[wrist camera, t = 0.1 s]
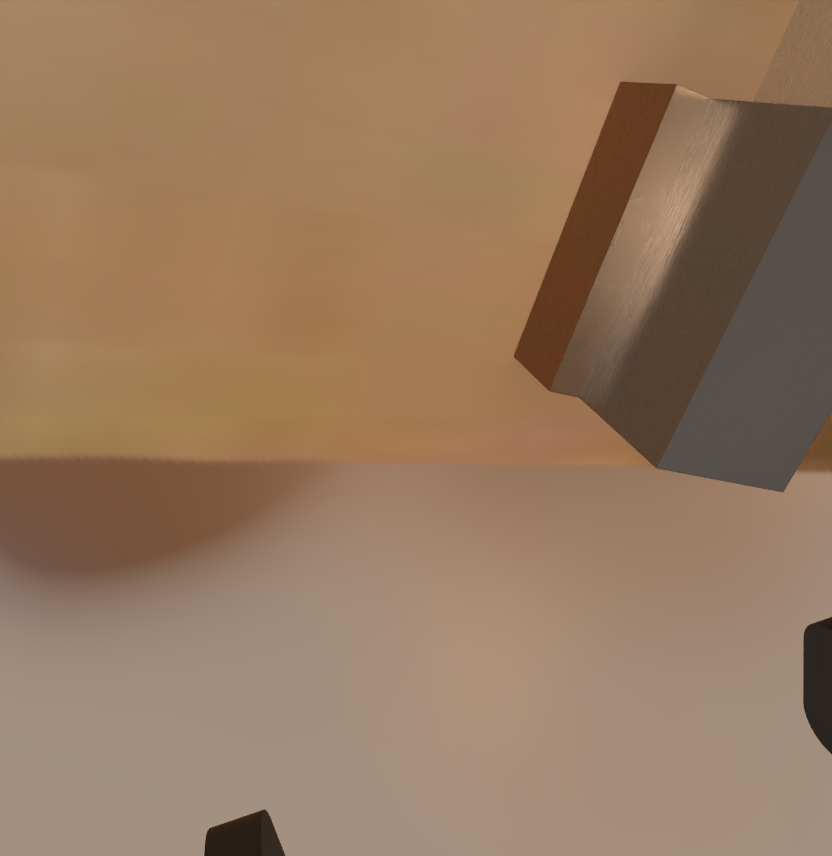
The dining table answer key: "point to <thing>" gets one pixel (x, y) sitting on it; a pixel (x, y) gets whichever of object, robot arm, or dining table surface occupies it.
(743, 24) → the dining table surface
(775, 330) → the sleeve
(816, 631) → the robot arm
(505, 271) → the dining table surface
